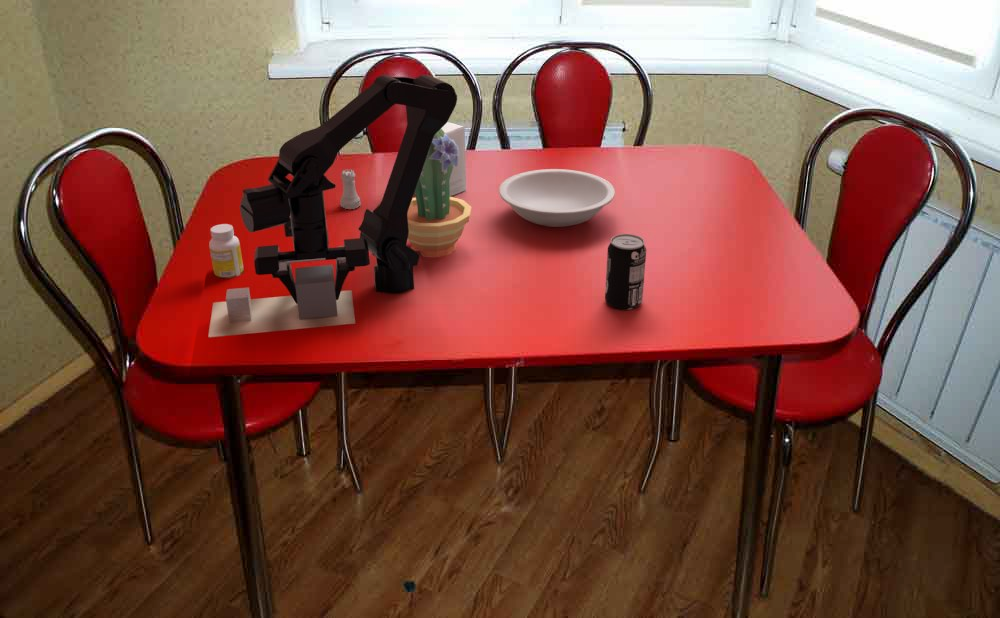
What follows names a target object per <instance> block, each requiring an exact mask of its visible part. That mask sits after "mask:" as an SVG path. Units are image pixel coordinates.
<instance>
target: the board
mask: <svg viewBox="0 0 1000 618" xmlns="http://www.w3.org/2000/svg"><path fill="white" fill-rule="evenodd" d="M250 299H251V298H250ZM353 300H354V299H353V292H352V290H341V293H340V296H339V299H338V300H336V303H337V315H338V316H329V317H319V318H308V319H299V312H298V304H296V303H295V301H294V299H293V298H292V296H291V295H285V296H274V297H263V298H261V297H260V298H252V299H251V305H252V321H243V322H233V323H230V322H229V316H228V310H227V303H226V301H215V302H212V309H211V317H210V322H209V329H208V338H216V337H218V338H219V337H226V336H227V337H228V336H237V335H246V334H256V333H257V334H259V333H269V332H279V331H281V332H282V331H288V330H290V331H291V330H298V329H299V330H301V329H311V328H320V327H321V328H322V327H331V326H332V327H333V326H341V325H353V324H354V325H355V324H356V319H355V318H356V317H355V309H354V302H353Z"/></svg>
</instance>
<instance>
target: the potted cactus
mask: <svg viewBox="0 0 1000 618" xmlns="http://www.w3.org/2000/svg"><path fill="white" fill-rule="evenodd" d="M458 150H459V148H458V146H457V145H456V144H455V142H454V140H451V139H450V138H449V137H448V136H447V135H446V133H445V132H444V131H443V130H442V129H440V130H439V131H438V132H437V133H436V134H435V136H434V138H433V141H432V144H431V146H430V149H429V152H428V155H427V158H426V161H425V164H424V167H423V169H422V172H421V175H420V178H419V181H418V184H417V187H416V190H415V193H414V196H415V197H413V198H412V201H411V204H410V207H409V210H408V214H407V216H408V227H409V234H408V239H407V241H408V242H410V244H411V247H410V248H411V249H413V250H414V251H416V252H420V256H421V257H424V258H441V257H444V256H448V255H450V254H452V253H453V252H455V251H456V248H457V242H458V240H459V239H460V238H461V237H462V235H463V231H464V228H465V225H466V224H468V223H469V221H470V216H471V211H472V206H471V205H470V204H468V203H467V202H466V200H464V199H461V198H456V197H453V196H450V186H449V179H450V176H451V173H452V170H453V165H455V166H456V167H457V166H458V157H457V155H459V151H458Z"/></svg>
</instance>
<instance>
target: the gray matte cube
mask: <svg viewBox="0 0 1000 618" xmlns="http://www.w3.org/2000/svg"><path fill="white" fill-rule="evenodd" d="M333 265H334V264H326V265H324V264H323V265H312V266H302V267H301V266H300V267H295V268H294V281H295V287H296V295H297V304H298V312H299V319H308V318H319V317H329V316H338V315H337V303H336V294H335V273H334V266H333Z"/></svg>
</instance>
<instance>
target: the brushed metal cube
mask: <svg viewBox="0 0 1000 618" xmlns="http://www.w3.org/2000/svg"><path fill="white" fill-rule="evenodd" d="M225 295H226V296H225V302H226V303H227V310H228V316H229V322H230V323H233V322H243V321H252V305H251V293H250V287H239V288H228V289H226V294H225Z"/></svg>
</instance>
